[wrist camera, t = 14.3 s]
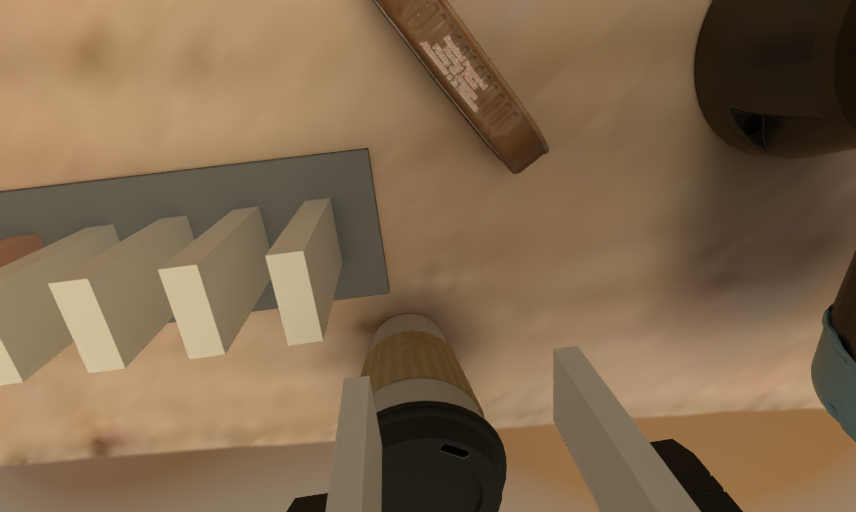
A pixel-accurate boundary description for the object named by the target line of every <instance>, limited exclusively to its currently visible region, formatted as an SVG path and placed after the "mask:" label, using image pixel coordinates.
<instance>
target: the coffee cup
mask: <svg viewBox="0 0 856 512" xmlns="http://www.w3.org/2000/svg"><path fill="white" fill-rule="evenodd" d="M363 376H369V377H370V382H371V388H372V393H373V399H374V404H375V409H376V415H377V420H378V426H379V431H380V437H381V442H382V504H381V512H498V511H499V507H500V504H501V501H502V491H503V487H504V484H505V480H506V466H507V464H506V455H505V451H504V446H503V443H502V441H501V439H500V437H499V435H498V433H497V432H496V431H495V429H494V428H493V427H492V426H491V425H490V424H489V423H488V421H486V420H485V418H484V414H483V411H482V409H481V407H480V405H479V403H478V401H477V399H476V397H475V395H474V393H473V391H472V389H471V387H470V385H469V383H468V381H467V379H466V377H465V375H464V372H463V370H462V368H461V366H460V364H459V362H458V360H457V358H456V356H455V354H454V352H453V350H452V349H451V348H450V347H449V345H448V344H447V342H446V340H445V338H444V336H443V333H442V332H441V330H440V328H439V327H438V326H437V324H436V323H434V322H433V321H432V320H430V319H428V318H426V317H425V316H421V315H418V314H402V315H398V316H395V317H392V318H390V319H388V320H387V321H385V322H384V323H383V324H382V325H381V326H380V327H379V328H378V329H377V331H376V332H375V334H374V336H373V339H372V342H371V346H370V350H369V354H368V356H367V358H366V361H365V363H364V367H363V370H362V374H361V377H363Z"/></svg>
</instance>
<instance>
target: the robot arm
mask: <svg viewBox="0 0 856 512" xmlns="http://www.w3.org/2000/svg"><path fill="white" fill-rule="evenodd" d="M695 76H696V87H697V93H698V98H699V102H700V105H701V108H702V110H703V113H704V115H705V117H706V119H707V121H708V122H709V124H710V125H711V127H712V128H713V129H714V131H715V132H716V133H717V134H718V135H719V136H720V137H721V138H722V139H723V140H725V141H726V142H727V143H729V144H730V145H732V146H734V147H736V148H738V149H740V150H742V151H745V152H749V153H752V154H758V155H764V156H769V157H775V158H785V159H795V158H807V157H813V156H819V155H824V154H830V153H835V152H841V151H846V150H852V149H856V0H714V1H713V3H712V5H711V8H710V10H709V12H708V14H707V17H706V19H705V22H704V25H703V28H702V31H701V35H700V39H699V43H698V48H697V55H696V66H695ZM822 323H823V331H822V334H821V337H820V340H819V343H818V346H817V349H816V352H815V355H814V358H813V361H812V366H811V377H812V383H813V386H814V389H815V391H816V394H817V396H818V398H819V399H820V401H821V403H822V404H823V405H824V407H825V408H826V410H827V411H828V413H829V414H830V415H831V416H832V417H833V418H835V419H836V420H837V421H838V422H839V423H840V425H841V427H842V429H843V430H844V431H845V432H846V433H847V434H848V435H849V436H850V437H851V438H852V439H853V440H854V441H855V442H856V251H855V253H854V256H853V258H852V261H851V263H850V265H849V268H848V270H847V272H846V275H845V277H844V280H843V282H842V284H841V287H840V289H839V291H838V294H837V296H836V299H835V301H834V303H833V304H832V305H830V306H829V308H828V309H827V310H826V311H825V312H824V315H823V320H822ZM553 418H554V422H555V424H556V425H557V427H558V429H559V431H560V433H561V435H562V437H563V439H564V441H565V443H566V445H567V447H568V449H569V451H570V453H571V455H572V457H573V459H574V461H575V463H576V465H577V467H578V469H579V471H580V473H581V475H582V477H583V479H584V481H585V483H586V484H587V486H588V488H589V490H590V492H591V494H592V496H593V498H594V500H595V502H596V504H597V506H598V508H599V510H600V512H743V511H742V510H741V509H740V508H739V506H738V505H737V504H736V503H735V502H734V501H733V499H732V498H731V497H730V496H729V495H728V494H727V492H724V491H723V488H722V486H721V485H720V484H719V483H718V482H717V480H716V479H715V478H714V477H713V476H711V475H710V472H709V471H708V470H707V469H706V467H705V466H704V465H703V464H702V463H701V461H700V460H699V459H698V458H697V457H696V456H695V455H694V453H692V452H691V451H689V450H688V449H686V448H685V447H683V446H682V445H680V444H679V443H678V442H676V441H675V440H673V439H668V440H662V441H656V442H649V441H648V440H647V439H646V437H645V436H644V435H643V433H642V432H641V431H640V429H639V428H638V427H637V425H636V424H635V423H634V421H633V420H632V419H631V417H630V416H629V415H628V413H627V412H626V411H625V409H624V408H623V407H622V405H621V404H620V402H619V401H618V400H617V398H616V397H615V396H614V394H613V393H612V392H611V390H610V389H609V388H608V386H607V385H606V384H605V382H604V381H603V380H602V378H601V377H600V376H599V374H598V373H597V372H596V370H595V369H594V368H593V366H592V365H591V364H590V362H589V361H588V360H587V358H586V357H585V356H584V354H583V353H582V352H581V350H580V349H579V348H578V346H574V347H567V348H560V349H553ZM381 504H382V442H381V437H380V431H379V426H378V420H377V415H376V409H375V404H374V399H373V393H372V388H371V382H370V377H369V376H363V377H356V378H349V379H344V384H343V391H342V398H341V405H340V412H339V420H338V427H337V434H336V441H335V448H334V455H333V462H332V469H331V476H330V483H329V490H328V493H326V494H319V495H313V496H306V497H300V498H295V500H294V501H293V503H292V504H291V506H290V507H289V509H288V510H287V512H381Z"/></svg>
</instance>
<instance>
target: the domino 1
mask: <svg viewBox="0 0 856 512" xmlns="http://www.w3.org/2000/svg"><path fill="white" fill-rule="evenodd" d="M42 248H44V245H43V243H42V241H41V239H40V236H39V234H30V235H22V236H14V237H9V238H7V239H4V240H2V241H0V268H1V267H3V266H5V265H7V264H9V263H12V262H14V261H16V260H18V259H20V258H22V257H25V256H27V255H29V254H31V253H33V252H35V251H37V250H40V249H42Z"/></svg>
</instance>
